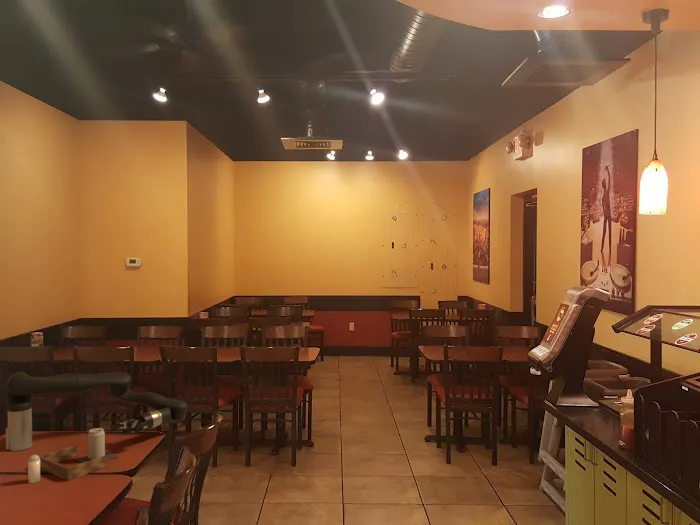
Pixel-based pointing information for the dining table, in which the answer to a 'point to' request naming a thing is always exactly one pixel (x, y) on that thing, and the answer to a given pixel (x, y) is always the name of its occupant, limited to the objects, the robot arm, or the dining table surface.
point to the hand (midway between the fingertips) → (117, 429)
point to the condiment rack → (69, 473)
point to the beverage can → (96, 443)
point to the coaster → (85, 459)
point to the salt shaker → (34, 469)
